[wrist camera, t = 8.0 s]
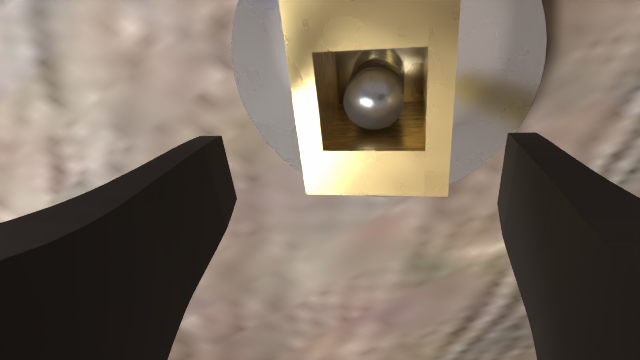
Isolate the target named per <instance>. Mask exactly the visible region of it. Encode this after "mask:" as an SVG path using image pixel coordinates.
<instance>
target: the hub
mask: <svg viewBox="0 0 640 360" xmlns="http://www.w3.org/2000/svg"><path fill="white" fill-rule="evenodd" d="M546 44H547V36H546V21H545V15H544V10H543V6H542V1H541V0H461V4H460V19H459V34H458V50H457V65H456V80H455V95H454V110H453V125H452V140H451V155H450V171H449V184H450V183H452V182H455V181H457V180H458V179H460V178H462V177H464V176H466V175H468V174H470V173H471V172H473V171H474V170H476V169H477V168H478V167H480V166H481V165H483V164H484V163H486V162H487V161H488V160H489V159H490V158H491V157H493V156H494V155H495V154H496V153H497V152H498V151H499V150H500V149H501V148H502V147H503V146H504V145H505V144H506V141H507V134H508V133H515V132H516V130H517V129H518V128H519V126H520V125H521V123H522V122H523V120H524V119H525V117H526V115H527V113H528V111H529V109H530V107H531V105H532V104H533V102H534V99H535V96H536V93H537V91H538V88H539V85H540V83H541V78H542V74H543V69H544V65H545V57H546ZM231 47H232V64H233V70H234V76H235V81H236V84H237V88H238V91H239V94H240V98H241V100H242V102H243V105H244V107H245V109H246V111H247V114H248V116H249V117H250V119H251V121H252V122H253V124H254V126H255V127H256V129H257V131H258V132H259V133H260V134H261V136H262V137H263V138H264V140H265V141H266V142H267V144H268V145H269V146H270V147H271V148H272V149H273V150H274V151H275V152H276V153H277V154H278V155H279V156H280V157H281V158H283V159H284V160H285V161H286V162H287V163H288V164H290V165H291V166H292V167H294V168H295V169H297V170H298V171H300V172H301V173H303V168H302V161H301V154H300V147H299V140H298V133H297V126H296V119H295V112H294V106H293V99H292V92H291V85H290V78H289V71H288V64H287V57H286V50H285V43H284V36H283V29H282V22H281V15H280V8H279V1H278V0H239V1H238V3H237V8H236V12H235V17H234V21H233V30H232V41H231ZM424 50H425V47H411V48H390V49H369V50H349V51H335V61H336V73H337V85H338V97H339V104H340V103H344V108H345V111H346V114H347V115H348V117H349V118H350V119H351V120H352V121H353V122H354V123H355V124H356V125H358V126H360V127H362V128H366V129H371V130H376V129H382V128H385V127H387V126H389V125H391V124H392V123H394V122H395V121H396V120H397V119H398V117H399V116H400V114H401V112H402V109H403V102H422V101H423V89H424ZM365 196H376V197H395V196H389V195H365Z"/></svg>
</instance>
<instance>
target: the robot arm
mask: <svg viewBox="0 0 640 360" xmlns="http://www.w3.org/2000/svg"><path fill="white" fill-rule="evenodd" d="M236 200H237V197H236V193H235V189H234V185H233V181H232V177H231V173H230V169H229V165H228V161H227V156H226V152H225V148H224V144H223V140H222V136H199V137H197V138H194V139H192V140H189V141H187V142H185V143H183V144H181V145H179V146H177V147H175V148H173V149H171V150H169V151H168V152H166V153H164V154H162V155H160V156H158V157H156V158H155V159H153V160H151V161H149V162H147V163H145V164H144V165H142V166H140V167H138V168H136V169H134V170H132V171H130V172H128V173H126V174H124V175H122V176H120V177H118V178H116V179H114V180H112V181H110V182H108V183H106V184H104V185H102V186H100V187H98V188H95V189H93V190H91V191H89V192H86V193H84V194H82V195H79V196H77V197H74V198H72V199H69V200H67V201H64V202H62V203H59V204H57V205H54V206H51V207H48V208H45V209H42V210H39V211H36V212H33V213H30V214H27V215H24V216H21V217H18V218H15V219H12V220H9V221H6V222H2V223H0V360H167V359H168V356H169V353H170V351H171V348H172V345H173V342H174V339H175V337H176V334H177V331H178V329H179V326H180V324H181V321H182V319H183V316H184V313H185V311H186V308H187V306H188V304H189V302H190V300H191V297H192V295H193V293H194V291H195V289H196V287H197V286H198V284H199V282H200V280H201V278H202V276H203V274H204V272H205V270H206V268H207V266H208V265H209V263H210V261H211V259H212V257H213V255H214V253H215V251H216V249H217V247H218V245H219V243H220V241H221V239H222V237H223V235H224V233H225V231H226V229H227V227H228V224H229V221H230V218H231V216H232V213H233V209H234V206H235V203H236ZM498 210H499V217H500V223H501V229H502V235H503V239H504V243H505V246H506V249H507V253H508V256H509V259H510V262H511V265H512V269H513V272H514V275H515V278H516V281H517V284H518V287H519V290H520V293H521V297H522V300H523V303H524V306H525V309H526V312H527V316H528V319H529V323H530V327H531V331H532V335H533V340H534V345H535V350H536V355H537V360H640V198H639V197H637V196H635V195H633V194H631V193H630V192H628V191H626V190H624V189H623V188H621V187H619V186H618V185H616V184H614V183H612V182H611V181H609V180H607V179H606V178H604V177H603V176H601V175H599V174H598V173H596V172H595V171H593V170H591V169H590V168H588V167H587V166H585V165H584V164H582V163H581V162H579V161H578V160H576V159H575V158H573V157H572V156H571V155H569V154H568V153H566V152H565V151H563V150H562V149H560V148H559V147H558V146H556V145H555V144H553V143H552V142H550V141H549V140H547V139H546V138H544V137H543V136H541V135H539V134H537V133H508V134H507V141H506V148H505V155H504V162H503V169H502V176H501V183H500V189H499V196H498Z"/></svg>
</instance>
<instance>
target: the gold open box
mask: <svg viewBox="0 0 640 360" xmlns="http://www.w3.org/2000/svg"><path fill="white" fill-rule="evenodd" d="M278 1H279V8H280V15H281V22H282V29H283V36H284V43H285V50H286V57H287V64H288V71H289V78H290V85H291V92H292V99H293V106H294V112H295V119H296V126H297V133H298V140H299V147H300V154H301V161H302V168H303V175H304V182H305V189H306V194H331V195H389V196H447V197H448V186H449V171H450V155H451V140H452V125H453V110H454V95H455V80H456V65H457V50H458V34H459V19H460V4H461V0H278ZM411 47H425V50H424V89H423V101H422V102H403V109H402V112H401V114H400V116H399V117H398V119H397V120H396V121H395V122H394V123H392V124H391V125H389V126H387V127H385V128H382V129H376V130H371V129H366V128H362V127H360V126H358V125H356V124H355V123H354V122H353V121H352V120H351V119H350V118H349V117H348V115H347V114H346V111H345V108H344V103H340V104H339V97H338V85H337V73H336V61H335V51H349V50H369V49H390V48H411Z"/></svg>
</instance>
